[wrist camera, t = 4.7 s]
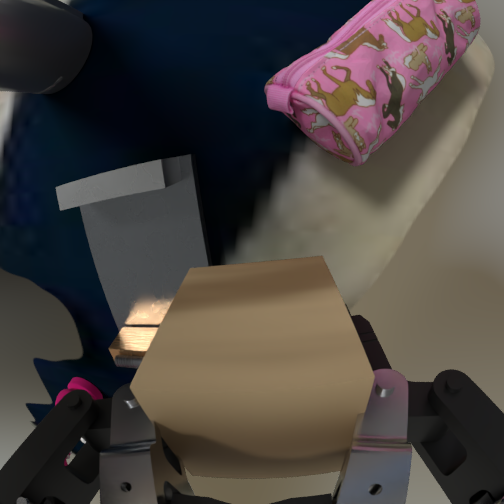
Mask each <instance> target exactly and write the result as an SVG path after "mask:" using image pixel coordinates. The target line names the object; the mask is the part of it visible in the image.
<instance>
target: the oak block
mask: <svg viewBox="0 0 504 504" xmlns="http://www.w3.org/2000/svg"><path fill="white" fill-rule="evenodd" d="M374 378H375V376H374V373H373V371H372V368H371V365H370V363H369V360H368V358H367V355H366V353H365V351H364V348H363V346H362V343H361V341H360V338H359V336H358V334H357V331H356V329H355V327H354V324H353V322H352V320H351V317H350V315H349V313H348V310H347V308H346V306H345V304H344V301H343V299H342V297H341V295H340V293H339V290H338V288H337V286H336V284H335V282H334V280H333V277H332V275H331V273H330V271H329V269H328V267H327V265H326V263H325V261H324V258H323V256H316V257H306V258H295V259H285V260H275V261H264V262H253V263H242V264H231V265H220V266H209V267H198V268H190V269H189V271H188V273H187V275H186V277H185V278H184V280H183V282H182V284H181V286H180V288H179V290H178V291H177V293H176V295H175V297H174V299H173V301H172V303H171V305H170V307H169V308H168V310H167V312H166V314H165V316H164V318H163V320H162V322H161V324H160V326H159V328H158V330H157V332H156V334H155V336H154V338H153V340H152V342H151V344H150V346H149V348H148V350H147V352H146V354H145V356H144V358H143V360H142V362H141V364H140V366H139V368H138V370H137V372H136V374H135V377H134V379H133V381H132V383H131V385H130V389H131V391H132V392H133V394H134V396H135V397H136V399H137V401H138V402H139V404H140V406H141V407H142V409H143V410H144V412H145V413H146V415H147V416H148V418H149V419H150V420H153V421H154V422H155V423H156V425H157V426H158V427H159V429H160V432H161V437H162V438H163V439H164V441H165V442H166V444H167V445H168V446H169V448H170V449H171V450H172V452H173V453H174V454H175V455H179V457H180V458H181V459H182V460H183V463H184V467H185V468H186V469H187V470H188V471H189V472H190V474H191V475H192V476H202V477H214V478H215V477H216V478H236V479H239V478H240V479H266V478H286V477H298V476H307V475H316V474H324V473H330V472H336V471H341V467H342V463H343V460H344V456H345V453H346V450H348V449H349V448H350V444H351V440H352V435H353V431H354V426H355V422H356V418H357V415H358V414H359V413H364V412H365V410H366V407H367V404H368V400H369V397H370V393H371V390H372V386H373V382H374Z"/></svg>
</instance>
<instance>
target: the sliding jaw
mask: <svg viewBox="0 0 504 504" xmlns="http://www.w3.org/2000/svg"><path fill="white" fill-rule="evenodd" d="M157 330H158V328H147V327H123V328H122V329H121V331H120V332H119V334H118V335H117V337H116V338H115V340H114V341H113V343H112V344H111V346H110V347H109V350H110V352H111V354H112V356H113V358H114V360H115V364H116V366H118V367H128V368H139V366H140V364H141V362H142V360H143V358H144V356H145V354H146V352H147V350H148V348H149V346H150V344H151V342H152V340H153V338H154V336H155V334H156V332H157Z"/></svg>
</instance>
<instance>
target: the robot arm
mask: <svg viewBox="0 0 504 504" xmlns="http://www.w3.org/2000/svg"><path fill="white" fill-rule="evenodd" d="M91 45H92V30H91V27H90V25H89V24H88V23H87V22H86V21H84V20H83V13H82V12H80V11H78V10H76V9H74V8H72V7H70V6H69V5H67V4H65V3H63V2H61V1H59V0H0V91H10V92H27V93H34V94H53V93H55V92H58V91H60V90H61V89H63V88H65V87H66V86H67V85H68V84H69V83H70V82H71V81H72V80H73V79H74V78H75V77H76V76H77V74H78V73H79V72H80V70H81V69H82V67H83V65H84V64H85V62H86V60H87V58H88V55H89V52H90V50H91ZM345 306H346V308H347V310H348V307H347V305H346V304H345ZM348 313H349V315H350V317H351V320H352V322H353V324H354V327H355V329H356V331H357V334H358V336H359V338H360V341H361V343H362V346H363V348H364V351H365V353H366V355H367V358H368V360H369V363H370V365H371V368H372V371H373V373H374V376H375V378H374V382H373V386H372V390H371V393H370V397H369V400H368V404H367V407H366V410H365V412H364V413H359V414H358V415H357V418H356V422H355V426H354V431H353V435H352V440H351V444H350V448H349V449H348V450H346V453H345V456H344V460H343V463H342V467H341V471H340V474H339V477H338V481H337V483H336V486H335V489H334V492H333V495H332V496H331V494H324V495H317V496H308V497H298V498H290V499H286V500H282V501H279V502H275V503H271V504H405V502H406V497H407V490H408V484H409V476H410V467H411V458H412V446H411V444H412V445H413V447H414V448H415V450H416V451H417V452H418V454H419V455H420V457H421V458H422V460H423V461H424V463H425V464H426V466H427V467H428V468H429V470H430V471H431V473H432V475H433V476H434V477H435V479H436V480H437V482H438V483H439V485H440V486H441V488H442V489H443V491H444V492H445V494H446V495H447V497H448V499H449V500H450V502H451V503H452V504H504V413H503V412H502V411H501V410H500V409H499V408H498V407H497V406H496V405H495V404H494V403H493V402H492V401H491V400H490V398H489V397H488V396H486V394H485V393H484V392H483V391H482V390H481V389H480V388H479V387H478V386H477V385H476V384H475V383H474V382H473V381H472V380H471V379H470V378H469V377H468V376H467V375H466V374H464V373H463V372H460V371H458V370H445V371H442V372H441V373H439V374H438V375H437V376H436V378H435V379H434V382H411V381H407V380H406V378H405V377H404V376H403V375H402V374H401V373H399V372H397V371H395V370H392V368H391V366H390V364H389V362H388V360H387V358H386V355H385V354H384V351H383V349H382V347H381V345H380V343H379V341H378V340H377V337H376V335H375V333H374V331H373V329H372V327H371V325H370V323H369V322H368V321H367V320H366V319H365V318H363V317H362V316H361V315H355V316H351V314H350V312H349V310H348ZM130 385H131V383H128V384H125V385H123V386H122V387H120V388H119V389H118V390H117V391H116V392H115V394H114V396H113V397H112V398H105V399H97V400H94V399H93V398H92V396H91V395H90V394H89V393H88V392H87V391H85V390H82V389H77V390H73V391H71V392H69V393H67V394H66V395H65V396H64V397H63V398H62V399H61V400H60V401H59V402H58V403H57V404H56V406H55V407H54V408H53V409H52V410H51V411H50V412H49V413H48V415H47V416H46V417H45V418H44V419H43V420H42V421H41V422H40V424H39V425H38V426H37V427H36V428H35V429H34V431H33V432H32V433H31V434H30V435H29V436H28V437H27V439H26V440H25V441H24V442H23V443H22V444H21V446H20V447H19V448H18V449H17V451H16V452H15V453H14V454H13V455H12V456H11V458H10V459H9V460H8V461H7V463H6V464H5V465H4V466H3V468H2V469H1V470H0V504H90V502H91V501H92V499H93V498H94V496H95V495H96V493H97V492H98V490H99V489H100V504H230V503H226V502H223V501H219V500H216V499H212V498H209V497H200V496H195V495H194V492H193V490H192V488H191V486H190V484H189V482H188V480H187V477H186V472H185V468H184V463H183V460H182V459H181V458H180V457H179V455H175V454H174V453H173V452H172V450H171V449H170V448H169V446H168V445H167V444H166V442H165V441H164V439H163V438H162V437H161V432H160V429H159V427H158V426H157V425H156V423H155V422H154V421H153V420H150V419H149V418H148V416H147V415H146V413H145V412H144V410H143V409H142V407H141V406H140V404H139V402H138V401H137V399H136V397H135V396H134V394H133V392H132V391H131V389H130ZM81 438H83V439H84V440H85V441H86V443H85V444H84V445H83V447H82V448H81V449H80V451H79V452H78V453H77V455H76V456H75V457H74V459H73V460H72V461H71V462H70V464H69V465H67V466H65V465H64V461H65V458H66V457H67V456H68V454H69V453H70V452H71V450H72V449H73V448H74V447H75V445H76V444H77V443H78V441H79V440H80V439H81ZM408 442H411V443H408Z"/></svg>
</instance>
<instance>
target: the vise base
mask: <svg viewBox="0 0 504 504" xmlns="http://www.w3.org/2000/svg"><path fill="white" fill-rule="evenodd" d="M56 192H57V197H58V202H59V207H60V211H61V210H64V209H68V208H72V207H76V206H80V209H81V214H82V218H83V222H84V226H85V230H86V234H87V238H88V242H89V245H90V249H91V252H92V256H93V259H94V263H95V266H96V269H97V272H98V275H99V278H100V281H101V284H102V287H103V290H104V293H105V296H106V298H107V301H108V304H109V306H110V309H111V312H112V314H113V317H114V319H115V322H116V324H117V327H118V329H119V332H120V331H121V329H122V328H123V327H147V328H159V326H160V324H161V322H162V320H163V318H164V316H165V314H166V312H167V310H168V308H169V307H170V305H171V303H172V301H173V299H174V297H175V295H176V293H177V291H178V290H179V288H180V286H181V284H182V282H183V280H184V278H185V277H186V275H187V273H188V271H189V269H190V268H198V267H209V266H213V265H212V259H211V253H210V248H209V242H208V236H207V230H206V224H205V218H204V212H203V206H202V199H201V193H200V186H199V179H198V173H197V166H196V158H195V154H190V155H184V156H179V157H172V158H166V159H160V160H155V161H151V162H146V163H142V164H137V165H133V166H129V167H125V168H121V169H117V170H113V171H109V172H105V173H101V174H98V175H94V176H91V177H87V178H84V179H80V180H77V181H74V182H71V183H67V184H64V185H61V186H58V187H56Z"/></svg>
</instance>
